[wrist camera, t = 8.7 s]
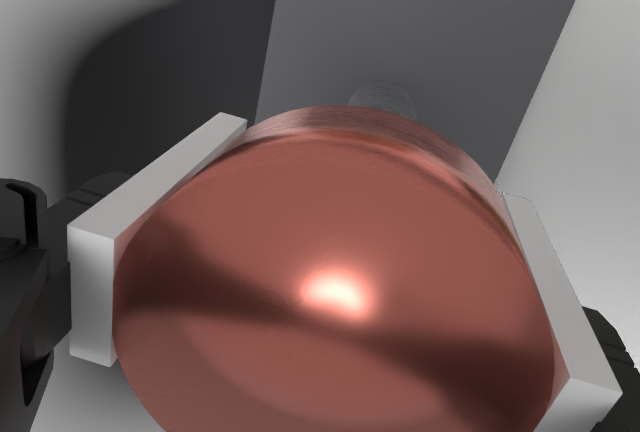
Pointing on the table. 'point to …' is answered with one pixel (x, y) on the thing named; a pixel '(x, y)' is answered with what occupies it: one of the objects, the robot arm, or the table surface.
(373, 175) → the copper round-headed piece
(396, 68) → the rubber mat
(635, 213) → the table surface
